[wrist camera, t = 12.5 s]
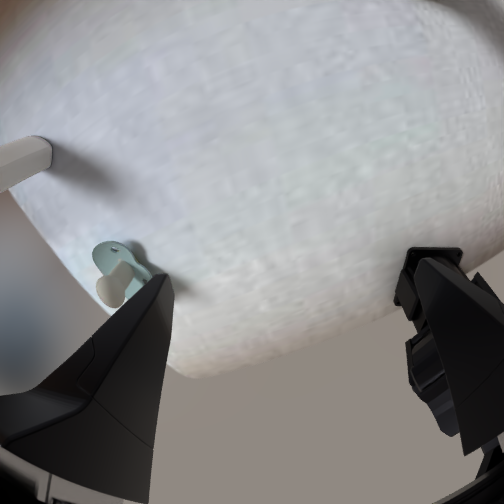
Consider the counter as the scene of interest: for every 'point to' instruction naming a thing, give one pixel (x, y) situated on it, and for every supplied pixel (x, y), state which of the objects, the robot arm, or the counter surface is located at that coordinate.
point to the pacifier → (118, 273)
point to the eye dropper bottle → (23, 160)
